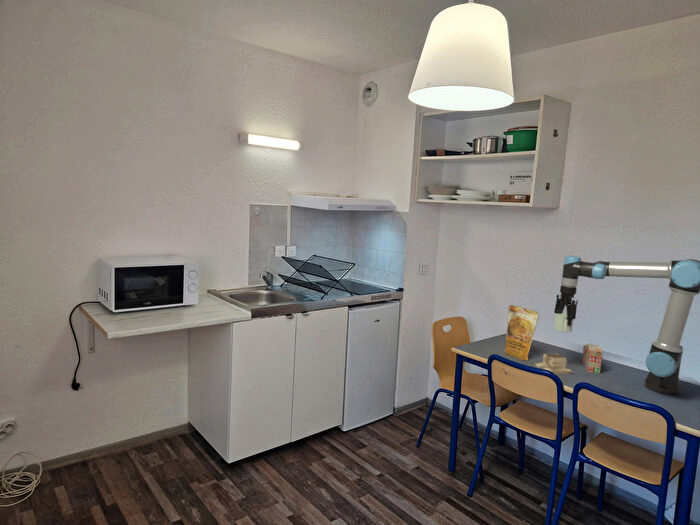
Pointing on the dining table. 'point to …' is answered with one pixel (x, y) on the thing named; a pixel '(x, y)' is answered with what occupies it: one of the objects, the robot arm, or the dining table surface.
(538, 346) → the dining table surface
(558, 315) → the sage block
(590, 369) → the printed food box
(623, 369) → the dining table surface
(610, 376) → the dining table surface
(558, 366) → the tower base
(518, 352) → the pancake mix bag
